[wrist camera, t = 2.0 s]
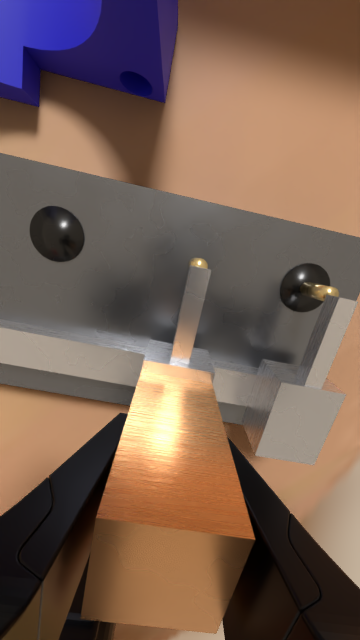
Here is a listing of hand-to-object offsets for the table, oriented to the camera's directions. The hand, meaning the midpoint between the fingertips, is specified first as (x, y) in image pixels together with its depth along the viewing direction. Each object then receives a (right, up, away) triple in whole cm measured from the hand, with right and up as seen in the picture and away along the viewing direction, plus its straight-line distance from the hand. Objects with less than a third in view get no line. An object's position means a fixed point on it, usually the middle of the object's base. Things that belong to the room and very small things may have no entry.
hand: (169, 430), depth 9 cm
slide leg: (0, +3, +4) cm, 5 cm away
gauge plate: (-1, +5, +5) cm, 7 cm away
